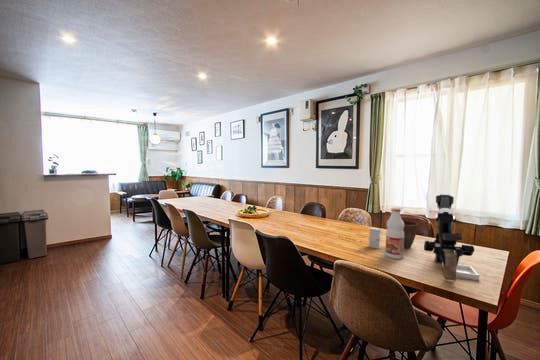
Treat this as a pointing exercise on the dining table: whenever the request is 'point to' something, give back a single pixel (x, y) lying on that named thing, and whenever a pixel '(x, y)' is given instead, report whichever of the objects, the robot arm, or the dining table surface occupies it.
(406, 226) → the plant pot
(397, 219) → the fruit juice
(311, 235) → the dining table surface
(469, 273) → the tray
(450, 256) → the walnut block
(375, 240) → the skincare box
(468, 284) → the dining table surface
